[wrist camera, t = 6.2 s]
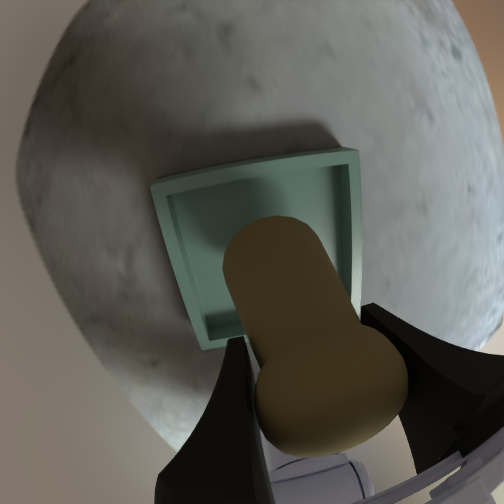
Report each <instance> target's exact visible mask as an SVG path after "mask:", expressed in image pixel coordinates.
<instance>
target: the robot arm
mask: <svg viewBox="0 0 504 504" xmlns="http://www.w3.org/2000/svg"><path fill="white" fill-rule="evenodd" d="M360 322H361V324H362V325H365V326H368V327H371V328H374V329H376V330H377V331H378V332H380V333H381V334H383V335H384V336H385V337H387V339H388V340H389V341H390V342H391V343H392V344H393V345H394V346H395V348H396V349H397V350H398V352H399V353H400V354H401V356H402V357H403V359H404V362H405V365H406V368H407V371H408V397H407V399H406V401H405V403H404V405H403V407H402V409H401V410H400V412H399V413H398V415H399V418H400V420H401V423H402V426H403V428H404V431H405V434H406V437H407V440H408V443H409V446H410V449H411V453H412V456H413V459H414V464H415V468H416V473H417V475H416V476H414V477H412V478H410V479H409V480H407V481H404V482H402V483H400V484H398V485H396V486H394V487H391V488H390V489H387V490H385V491H383V492H380V493H378V494H375V495H374V488H373V484H372V481H371V478H370V475H369V473H368V471H367V469H366V467H365V466H364V464H363V463H362V462H360V461H358V460H356V459H354V458H351V459H349V460H348V458H347V455H346V453H341V452H339V453H335V454H332V455H327V456H322V457H312V458H304V457H297V456H292V455H287V454H284V453H283V452H281V451H280V450H278V449H277V448H276V447H274V446H273V445H272V444H271V443H270V442H269V441H267V440H266V438H265V437H264V435H263V433H262V431H261V429H260V427H259V425H258V421H257V418H256V414H255V408H254V402H253V399H254V391H255V385H256V384H255V379H254V374H253V369H252V365H251V361H250V357H249V354H248V350H247V346H246V342H245V338H244V336H239V337H234V338H229V339H228V340H227V346H226V351H225V356H224V360H223V364H222V367H221V371H220V374H219V377H218V380H217V383H216V385H215V388H214V390H213V393H212V396H211V398H210V400H209V402H208V405H207V407H206V409H205V411H204V413H203V415H202V417H201V418H200V420H199V422H198V423H197V425H196V427H195V429H194V430H193V432H192V433H191V435H190V436H189V438H188V439H187V441H186V442H185V443H184V445H183V446H182V448H181V449H180V450H179V452H178V453H177V454H176V455H175V457H174V458H173V459H172V460H171V461H170V462H169V464H168V465H167V466H166V467H165V468H164V469H163V470H162V471H161V472H160V473H159V475H158V478H157V482H156V487H155V500H154V504H393V503H396V502H398V501H400V500H402V499H404V498H406V497H408V496H410V495H412V494H414V493H416V492H418V491H420V490H421V489H423V488H425V487H427V486H429V485H431V484H432V483H434V482H436V481H437V480H439V479H441V478H442V477H444V476H446V475H447V474H449V473H450V472H452V471H453V470H455V469H457V468H458V467H460V466H461V467H460V470H458V471H457V472H455V473H454V474H453V475H451V476H450V477H448V478H447V479H446V480H445V481H444V482H442V483H441V484H440V485H439V486H437V487H436V488H435V489H433V490H431V491H430V493H429V494H430V496H431V498H432V500H430V501H428V502H426V503H425V504H496V503H495V501H494V499H493V497H492V495H491V492H493V491H494V490H495V489H496V488H497V487H498V486H499V485H500V484H501V483H502V482H503V481H504V355H494V354H487V353H482V352H477V351H473V350H469V349H466V348H462V347H459V346H456V345H453V344H450V343H448V342H445V341H443V340H440V339H438V338H436V337H433V336H431V335H429V334H427V333H425V332H423V331H421V330H419V329H417V328H416V327H414V326H412V325H410V324H408V323H407V322H405V321H403V320H402V319H400V318H398V317H397V316H395V315H393V314H392V313H390V312H388V311H387V310H385V309H384V308H382V307H380V306H379V305H377V304H375V303H371V304H367V305H364V306H361V318H360Z"/></svg>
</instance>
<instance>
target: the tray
mask: <svg viewBox="0 0 504 504" xmlns="http://www.w3.org/2000/svg"><path fill="white" fill-rule="evenodd" d="M150 189H151V193H152V197H153V201H154V205H155V209H156V213H157V216H158V220H159V223H160V227H161V231H162V234H163V238H164V241H165V244H166V248H167V251H168V254H169V258H170V261H171V264H172V267H173V270H174V273H175V277H176V280H177V283H178V286H179V289H180V292H181V295H182V298H183V301H184V303H185V306H186V309H187V312H188V315H189V318H190V320H191V323H192V326H193V329H194V331H195V334H196V337H197V339H198V342H199V345H200V347H201V350H207V349H213V348H219V347H225V346H227V340H228V339H229V338H234V337H239V336H244V338H245V342H249V340H248V338H247V335H246V333H245V331H244V328H243V326H242V323H241V321H240V318H239V316H238V313H237V311H236V308H235V306H234V303H233V301H232V298H231V295H230V293H229V290H228V288H227V285H226V283H225V279H224V274H223V270H222V266H223V259H224V253H225V251H226V249H227V247H228V245H229V243H230V241H231V239H232V238H233V237H234V236H235V235H236V234H237V233H238V232H239V231H240V230H241V229H242V228H243V227H244V226H246V225H248V224H250V223H252V222H254V221H256V220H258V219H260V218H265V217H270V216H275V215H279V216H287V217H294V218H296V219H298V220H300V221H302V222H304V223H306V224H308V225H309V226H310V227H311V228H312V230H313V231H314V232H315V233H316V234H317V235H318V237H319V239H320V240H321V242H322V244H323V246H324V248H325V250H326V252H327V254H328V256H329V258H330V260H331V262H332V264H333V266H334V268H335V270H336V272H337V274H338V276H339V278H340V280H341V282H342V284H343V286H344V288H345V290H346V292H347V294H348V296H349V298H350V300H351V302H352V304H353V307H354V309H355V311H356V313H357V315H359V312H360V298H361V278H362V193H361V174H360V160H359V150H356V149H351V148H346V147H334V148H325V149H315V150H307V151H299V152H292V153H284V154H277V155H271V156H264V157H258V158H252V159H246V160H241V161H235V162H230V163H225V164H220V165H215V166H210V167H205V168H200V169H196V170H191V171H187V172H182V173H178V174H174V175H170V176H166V177H162V178H158V179H157V180H155V181H154V182H153V183H152V184H151V185H150Z"/></svg>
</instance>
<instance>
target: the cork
mask: <svg viewBox="0 0 504 504" xmlns="http://www.w3.org/2000/svg"><path fill="white" fill-rule="evenodd" d="M222 270H223V274H224V279H225V283H226V285H227V288H228V290H229V293H230V295H231V298H232V301H233V303H234V306H235V308H236V311H237V313H238V316H239V318H240V321H241V323H242V326H243V328H244V331H245V333H246V335H247V338H248V340H249V343H250V345H251V348H252V350H253V352H254V355H255V357H256V360H257V362H258V364H259V367H260V369H261V370H260V372H259V375H258V378H257V382H256V385H255V391H254V399H253V402H254V408H255V414H256V418H257V421H258V425H259V427H260V429H261V431H262V433H263V435H264V437H265V438H266V440H267V441H269V442H270V443H271V444H272V445H273V446H274V447H276V448H277V449H278V450H280V451H281V452H283V453H284V454H287V455H292V456H297V457H304V458H312V457H322V456H327V455H332V454H335V453H339V452H342V451H345V450H347V449H350V448H352V447H354V446H357V445H358V444H361V443H363V442H365V441H366V440H368V439H370V438H371V437H373V436H374V435H376V434H378V433H379V432H380V431H381V430H383V429H384V428H385V427H386V426H388V425H389V424H390V422H391V421H392V420H393V419H394V418H395V417H396V416H397V415H398V413H399V412H400V410H401V409H402V407H403V405H404V403H405V401H406V399H407V397H408V371H407V368H406V365H405V362H404V359H403V357H402V356H401V354H400V353H399V352H398V350H397V349H396V348H395V346H394V345H393V344H392V343H391V342H390V341H389V340H388V339H387V337H385V336H384V335H383V334H381V333H380V332H378V331H377V330H376V329H374V328H371V327H368V326H365V325H362V324H361V322H360V319H359V317H358V315H357V313H356V311H355V309H354V307H353V304H352V302H351V300H350V298H349V296H348V294H347V292H346V290H345V288H344V286H343V284H342V282H341V280H340V278H339V276H338V274H337V272H336V270H335V268H334V266H333V264H332V262H331V260H330V258H329V256H328V254H327V252H326V250H325V248H324V246H323V244H322V242H321V240H320V239H319V237H318V235H317V234H316V233H315V232H314V231H313V230H312V228H311V227H310V226H309V225H308V224H306V223H304V222H302V221H300V220H298V219H296V218H294V217H287V216H279V215H275V216H270V217H265V218H260V219H258V220H256V221H254V222H252V223H250V224H248V225H246V226H244V227H243V228H242V229H241V230H240V231H239V232H238V233H237V234H236V235H235V236H234V237H233V238H232V239H231V241H230V243H229V245H228V247H227V249H226V251H225V253H224V259H223V266H222Z"/></svg>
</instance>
